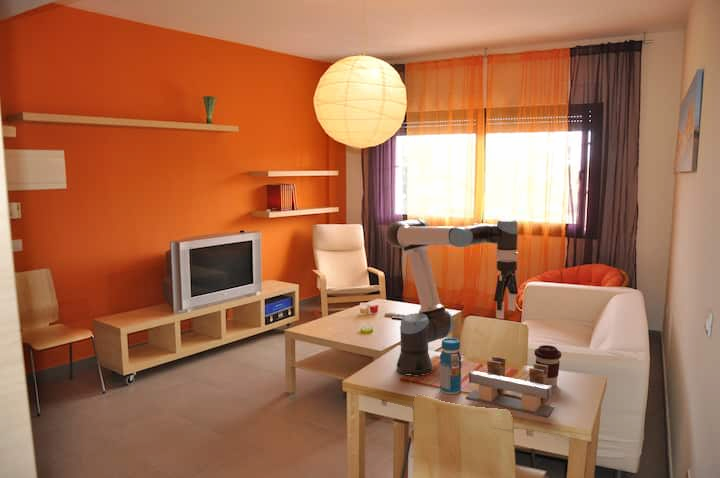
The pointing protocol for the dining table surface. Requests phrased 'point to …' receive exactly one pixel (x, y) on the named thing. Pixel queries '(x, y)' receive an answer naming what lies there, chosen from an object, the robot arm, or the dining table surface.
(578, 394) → the dining table surface
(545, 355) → the coffee cup
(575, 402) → the dining table surface
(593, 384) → the dining table surface
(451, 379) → the beverage bottle
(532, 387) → the rail
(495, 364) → the pair of wooden supports
